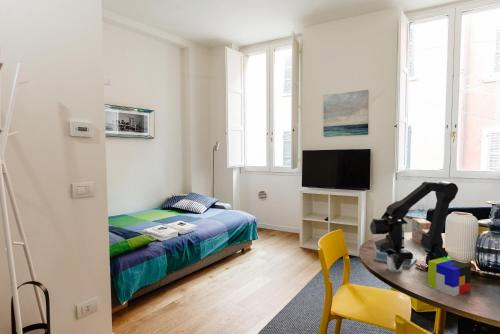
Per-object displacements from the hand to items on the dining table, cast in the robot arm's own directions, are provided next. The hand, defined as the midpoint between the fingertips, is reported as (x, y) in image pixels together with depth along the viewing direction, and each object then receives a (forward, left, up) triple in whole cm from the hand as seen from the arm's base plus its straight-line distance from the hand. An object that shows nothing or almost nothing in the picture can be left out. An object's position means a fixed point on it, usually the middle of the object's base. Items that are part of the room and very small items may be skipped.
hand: (394, 267), depth 139 cm
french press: (+19, -33, -1) cm, 38 cm away
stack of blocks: (+10, -48, -1) cm, 49 cm away
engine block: (0, 0, -1) cm, 1 cm away
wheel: (+1, -10, +1) cm, 10 cm away
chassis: (+6, -11, -1) cm, 13 cm away
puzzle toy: (-22, 0, -1) cm, 22 cm away
